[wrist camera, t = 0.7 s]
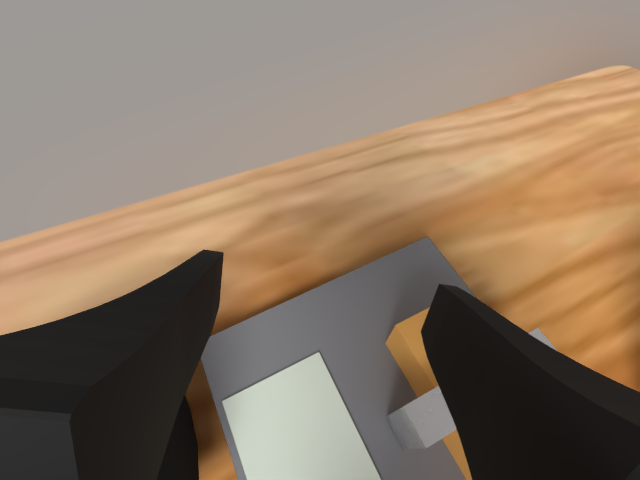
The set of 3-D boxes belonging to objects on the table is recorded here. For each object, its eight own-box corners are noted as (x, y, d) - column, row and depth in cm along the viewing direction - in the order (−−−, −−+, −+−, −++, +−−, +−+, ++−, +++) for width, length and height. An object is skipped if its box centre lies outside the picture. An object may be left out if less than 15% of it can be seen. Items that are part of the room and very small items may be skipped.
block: (531, 463, 21) (572, 464, 17) (478, 500, 20) (510, 509, 17) (431, 318, 26) (448, 297, 22) (385, 342, 25) (395, 325, 21)
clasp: (517, 379, 23) (590, 351, 17) (403, 449, 21) (438, 447, 15) (497, 351, 24) (558, 315, 18) (386, 416, 22) (411, 401, 16)
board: (589, 462, 22) (608, 463, 21) (304, 673, 17) (303, 693, 16) (423, 245, 31) (428, 234, 29) (202, 348, 26) (195, 342, 25)
